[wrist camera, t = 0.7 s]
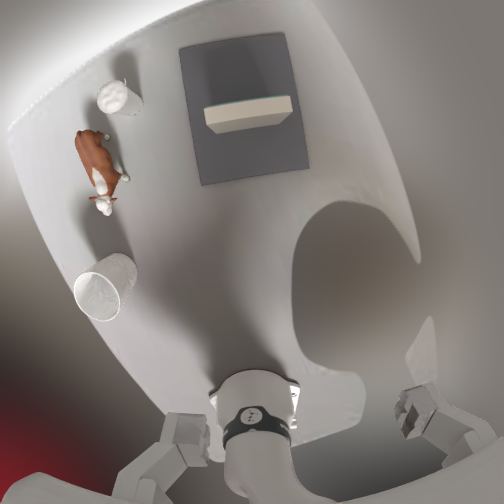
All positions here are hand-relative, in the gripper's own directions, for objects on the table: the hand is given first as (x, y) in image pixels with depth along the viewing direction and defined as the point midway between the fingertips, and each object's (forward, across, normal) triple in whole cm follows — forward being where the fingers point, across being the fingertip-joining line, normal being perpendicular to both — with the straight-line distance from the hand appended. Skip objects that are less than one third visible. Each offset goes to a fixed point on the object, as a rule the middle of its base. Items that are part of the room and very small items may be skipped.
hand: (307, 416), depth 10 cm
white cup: (+35, +24, +7) cm, 44 cm away
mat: (+36, +2, -18) cm, 40 cm away
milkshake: (+36, +18, -20) cm, 45 cm away
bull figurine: (+36, +23, -10) cm, 43 cm away
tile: (+35, +2, -14) cm, 38 cm away
